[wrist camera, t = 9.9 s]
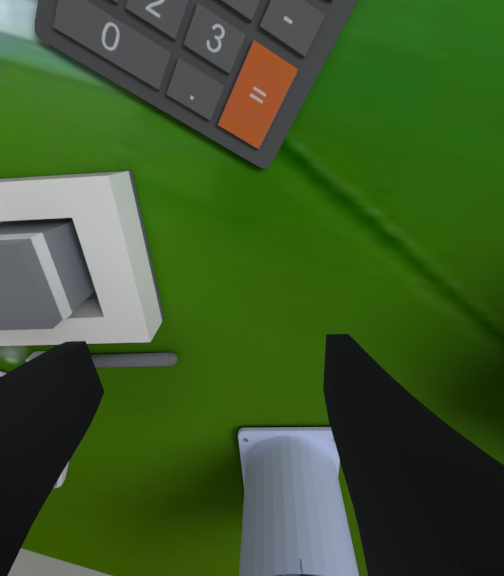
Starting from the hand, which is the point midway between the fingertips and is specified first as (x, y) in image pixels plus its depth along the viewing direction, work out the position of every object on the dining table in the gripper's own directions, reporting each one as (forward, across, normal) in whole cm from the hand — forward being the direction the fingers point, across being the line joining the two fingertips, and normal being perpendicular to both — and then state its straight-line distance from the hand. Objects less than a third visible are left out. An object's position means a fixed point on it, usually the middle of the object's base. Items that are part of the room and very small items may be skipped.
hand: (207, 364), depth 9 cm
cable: (+9, +9, +7) cm, 15 cm away
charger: (+9, +10, -1) cm, 13 cm away
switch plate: (+9, +12, 0) cm, 15 cm away
